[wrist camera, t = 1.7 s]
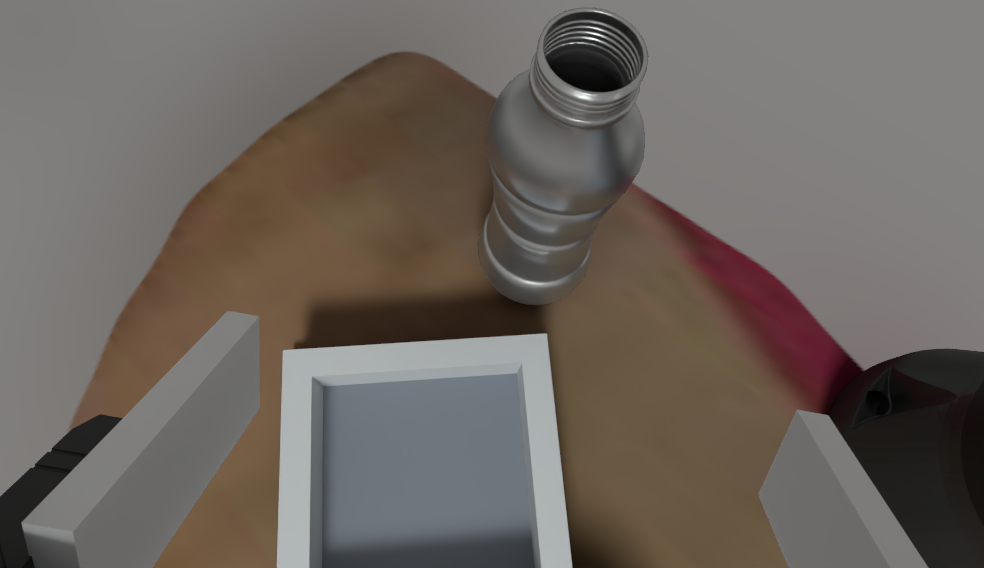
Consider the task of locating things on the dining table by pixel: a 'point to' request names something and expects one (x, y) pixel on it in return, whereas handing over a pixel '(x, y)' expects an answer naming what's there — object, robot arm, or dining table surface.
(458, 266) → the dining table surface
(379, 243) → the dining table surface
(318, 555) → the light grey square tray
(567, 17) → the plastic bottle
